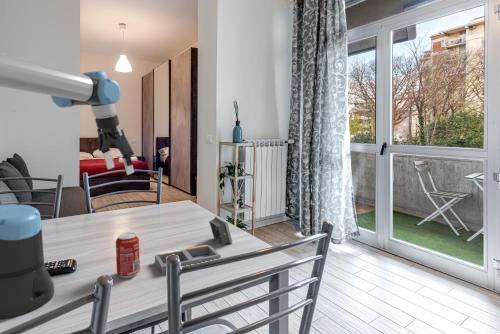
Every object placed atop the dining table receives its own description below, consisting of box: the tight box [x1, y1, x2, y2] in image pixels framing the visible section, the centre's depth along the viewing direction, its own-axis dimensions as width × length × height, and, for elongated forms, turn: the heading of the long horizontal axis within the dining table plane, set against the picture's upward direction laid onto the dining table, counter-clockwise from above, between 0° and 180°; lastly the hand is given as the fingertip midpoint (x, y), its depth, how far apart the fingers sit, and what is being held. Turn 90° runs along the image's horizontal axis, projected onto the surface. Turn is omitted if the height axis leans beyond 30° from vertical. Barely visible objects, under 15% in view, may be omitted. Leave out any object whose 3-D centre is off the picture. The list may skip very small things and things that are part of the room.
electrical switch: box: [209, 215, 233, 246], centre depth 118 cm, size 9×5×9 cm, turn 32°
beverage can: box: [115, 232, 141, 279], centre depth 91 cm, size 6×6×12 cm
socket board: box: [154, 244, 221, 276], centre depth 100 cm, size 19×9×3 cm, turn 118°
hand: (120, 170), depth 119 cm, fingers open, 13 cm apart
